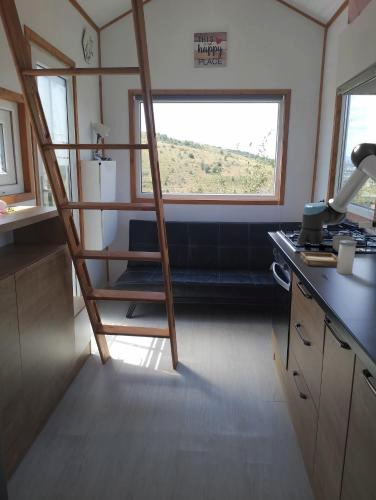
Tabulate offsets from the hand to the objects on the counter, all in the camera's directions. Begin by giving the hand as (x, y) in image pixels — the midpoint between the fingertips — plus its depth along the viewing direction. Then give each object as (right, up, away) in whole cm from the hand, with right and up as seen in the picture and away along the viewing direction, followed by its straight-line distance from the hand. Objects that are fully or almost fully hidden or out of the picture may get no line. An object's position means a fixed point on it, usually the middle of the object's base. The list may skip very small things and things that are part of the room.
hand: (369, 227), depth 170 cm
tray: (-15, -15, +20) cm, 29 cm away
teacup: (+4, -10, +43) cm, 44 cm away
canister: (-10, -20, +3) cm, 22 cm away
